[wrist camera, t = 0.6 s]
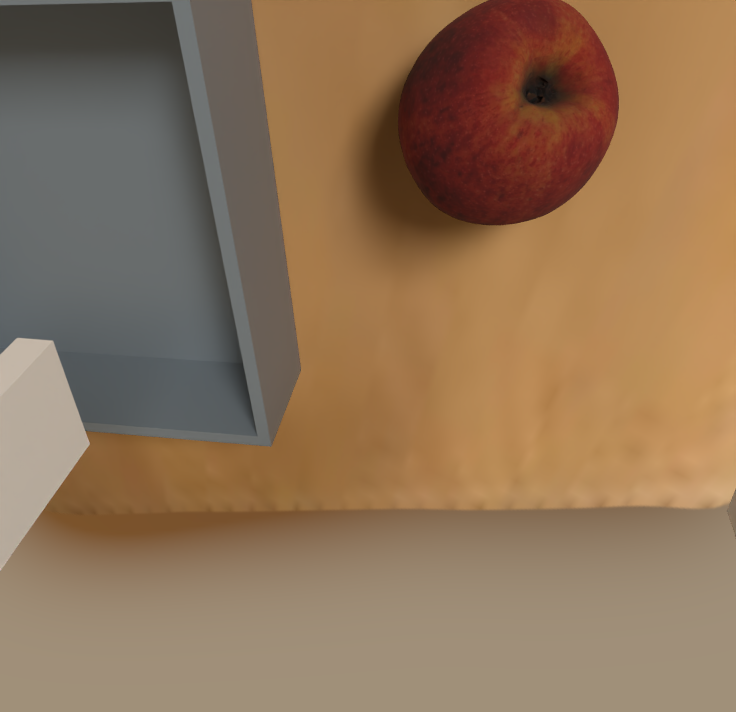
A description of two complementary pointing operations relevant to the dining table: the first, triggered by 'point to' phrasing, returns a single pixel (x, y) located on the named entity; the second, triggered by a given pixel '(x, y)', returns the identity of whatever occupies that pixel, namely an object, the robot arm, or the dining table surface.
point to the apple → (508, 111)
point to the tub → (145, 215)
